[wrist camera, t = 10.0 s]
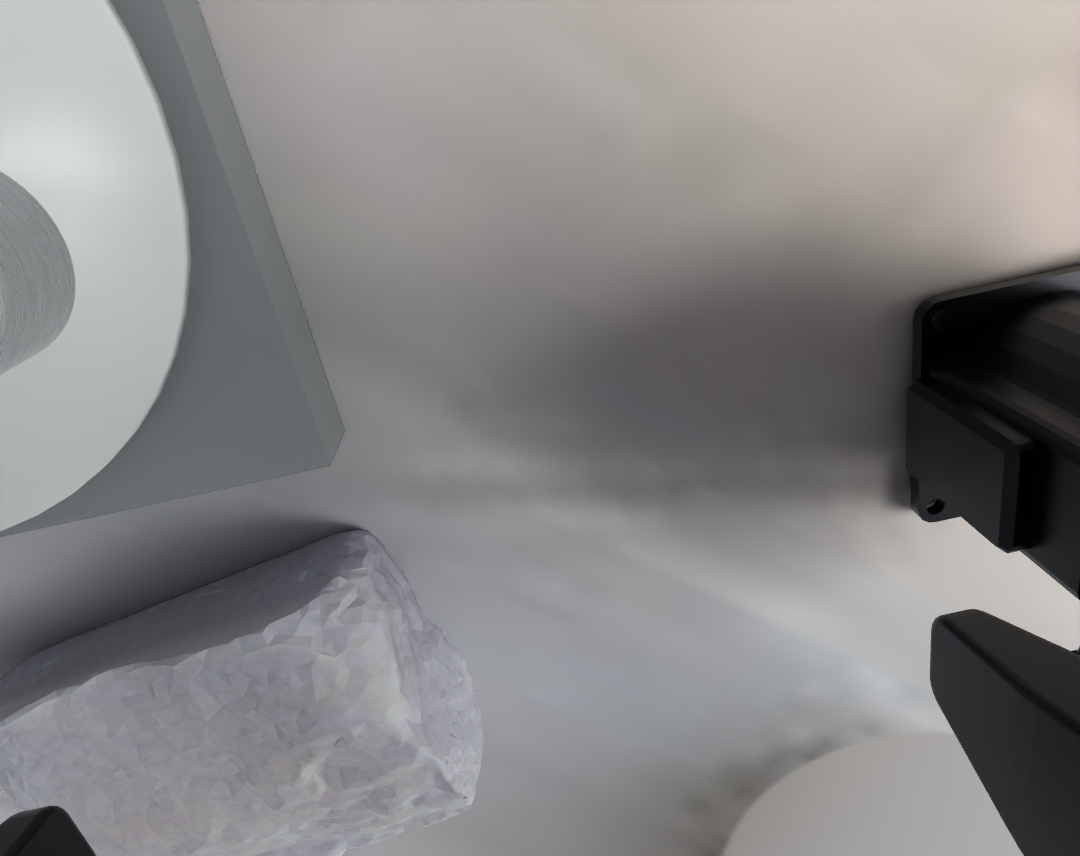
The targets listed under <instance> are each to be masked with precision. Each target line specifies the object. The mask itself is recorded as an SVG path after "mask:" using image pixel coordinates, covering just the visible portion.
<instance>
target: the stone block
mask: <svg viewBox="0 0 1080 856" xmlns="http://www.w3.org/2000/svg"><path fill="white" fill-rule="evenodd" d="M472 682H473V679H472V675H471V673H470V671H469V669H468V666H467V662H466V660H465V659H464V658H463V657H462V656H461V655H460V654H459V653H458V652H457V650H456V649H455V648H454V647H453V646H452V645H451V644H450V643H449V642H448V640H447V639H446V638H445V637H444V635H443V631H442V630H441V629H440V628H438V627H437V626H435V625H434V624H433V623H431V622H430V621H429V620H427V619H426V617H425V615H424V613H423V611H422V609H421V608H420V606H419V605H418V603H417V600H416V597H415V593H414V592H413V591H412V590H411V586H410V584H409V582H408V581H407V579H406V578H405V577H404V575H403V574H402V572H401V571H400V569H399V568H398V567H397V565H396V564H395V563H394V561H393V560H392V559H391V558H390V556H389V555H388V554H387V552H386V550H385V548H384V546H383V545H382V544H381V543H380V542H379V541H378V540H377V539H376V538H375V537H374V536H373V535H372V534H371V533H370V532H368V531H366V530H359V529H357V530H353V531H347V532H342V533H338V534H334V535H331V536H328V537H326V538H323V539H321V540H318V541H316V542H313V543H311V544H308V545H306V546H303V547H301V548H298V549H295V550H293V551H290V552H288V553H285V554H283V555H280V556H278V557H275V558H273V559H271V560H268V561H266V562H264V563H261V564H258V565H256V566H253V567H251V568H248V569H246V570H243V571H241V572H238V573H235V574H232V575H230V576H228V577H226V578H223V579H221V580H218V581H216V582H213V583H211V584H208V585H205V586H203V587H200V588H198V589H195V590H193V591H190V592H188V593H186V594H183V595H181V596H178V597H176V598H172V599H169V600H166V601H164V602H161V603H159V604H156V605H154V606H152V607H149V608H147V609H145V610H142V611H140V612H138V613H135V614H133V615H131V616H129V617H127V618H125V619H121V620H116V621H113V622H110V623H108V624H106V625H103V626H101V627H98V628H96V629H93V630H91V631H88V632H86V633H83V634H81V635H78V636H75V637H71V638H68V639H67V640H65V641H63V642H61V643H59V644H56V645H53V646H50V647H48V648H45V649H43V650H41V651H39V652H37V653H35V654H33V655H32V656H30V657H29V658H28V659H26V660H25V661H23V662H22V663H21V664H19V665H18V666H16V667H15V668H14V669H12V670H11V671H9V672H8V673H7V674H5V675H4V676H3V678H2V679H1V681H0V784H1V785H2V787H3V788H4V789H5V791H6V792H7V793H8V794H9V795H10V796H11V797H12V798H13V799H15V800H16V801H17V802H18V803H19V804H20V805H22V806H23V808H24V809H25V810H26V811H28V810H32V809H37V808H42V807H46V806H59V807H61V808H63V809H64V810H65V811H66V812H67V813H68V814H69V816H70V817H71V818H72V820H73V821H74V823H75V824H76V826H77V827H78V829H79V830H80V832H81V833H82V834H83V836H84V837H85V839H86V840H87V842H88V843H89V845H90V846H91V848H92V849H93V851H94V852H95V854H96V856H341V855H342V854H343V853H344V852H345V851H346V850H348V849H356V848H359V847H362V846H367V845H374V844H376V843H379V842H381V841H383V840H385V839H388V838H390V837H393V836H395V835H398V834H400V833H401V832H402V831H404V830H406V829H418V828H423V827H426V826H429V825H432V824H435V823H438V822H441V821H443V820H446V819H448V818H451V817H453V816H455V815H457V814H459V813H463V812H465V811H466V810H467V809H468V808H471V803H472V801H473V799H474V795H475V790H476V782H477V779H478V776H479V773H480V769H481V765H480V763H481V757H482V753H483V728H482V723H481V721H482V714H481V710H480V704H479V702H478V700H477V698H476V695H475V691H474V688H473V683H472Z"/></svg>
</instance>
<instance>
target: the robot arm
mask: <svg viewBox="0 0 1080 856" xmlns="http://www.w3.org/2000/svg"><path fill="white" fill-rule="evenodd" d="M941 310H942V313H943V314H942V317H941V319H940V321H939V322H938V323H936V324H934V325H932V323H931V322H932V318H933V316H934V315H935V314H936V313H937V312H939V311H941ZM906 468H907V470H908V472H910V473H911V507H912V510H913V511H914V512H915V513H916V514H917V515H918V516H919V517H920V518H921V519H922V520H924V521H927V522H937V521H942V520H947V519H951V518H956V517H962V518H963V519H964V520H966V521H967V522H968V523H969V524H970V525H971V526H973V527H974V528H975V529H976V530H977V531H978V532H980V533H981V534H982V535H983V536H984V537H985V538H987V539H988V540H989V541H990V542H991V543H992V544H994V545H995V546H996V547H998V548H999V549H1001V550H1002V551H1004V552H1006V553H1011V552H1016V551H1021V552H1022V553H1023V554H1024V555H1026V556H1027V557H1028V558H1029V559H1031V560H1032V561H1033V562H1034V563H1035V564H1037V565H1038V566H1039V567H1040V568H1041V569H1043V570H1044V571H1045V572H1046V573H1047V574H1049V575H1050V576H1051V577H1052V578H1054V579H1055V580H1056V581H1057V582H1058V583H1060V584H1061V585H1062V586H1063V587H1064V588H1066V589H1067V590H1068V591H1069V592H1070V593H1072V594H1073V595H1074V596H1075V597H1076V598H1078V599H1079V600H1080V265H1077V266H1073V267H1068V268H1063V269H1059V270H1054V271H1050V272H1045V273H1040V274H1036V275H1031V276H1026V277H1022V278H1017V279H1013V280H1008V281H1003V282H999V283H994V284H989V285H985V286H980V287H976V288H971V289H966V290H962V291H957V292H952V293H948V294H943V295H939V296H934V297H931V298H929V299H926V300H925V301H924V302H922V303H921V304H920V305H919V306H918V308H917V310H916V311H915V314H914V318H913V369H912V382H911V384H910V386H909V387H908V389H907V429H906ZM935 499H936V502H935V503H934V504H933V505H932V506H930V507H928V508H927V506H928V504H929V503H930V502H931V501H933V500H935ZM930 681H931V687H932V690H933V693H934V696H935V698H936V700H937V702H938V704H939V706H940V708H941V710H942V712H943V713H944V715H945V717H946V719H947V721H948V722H949V724H950V726H951V728H952V730H953V731H954V733H955V735H956V737H957V739H958V740H959V742H960V743H961V745H962V748H963V749H964V751H965V753H966V755H967V756H968V758H969V760H970V762H971V763H972V765H973V767H974V769H975V771H976V772H977V775H978V776H979V778H980V780H981V782H982V783H983V785H984V787H985V789H986V791H987V792H988V794H989V796H990V798H991V800H992V801H993V803H994V805H995V807H996V809H997V810H998V812H999V814H1000V816H1001V818H1002V819H1003V821H1004V823H1005V825H1006V827H1007V828H1008V830H1009V831H1010V833H1011V835H1012V837H1013V838H1014V840H1015V842H1016V844H1017V845H1018V847H1019V849H1020V850H1021V852H1022V853H1023V855H1024V856H1080V647H1079V649H1078V650H1074V651H1072V652H1071V651H1069V650H1067V649H1065V648H1063V647H1060V646H1058V645H1056V644H1054V643H1052V642H1049V641H1047V640H1045V639H1043V638H1041V637H1038V636H1036V635H1034V634H1032V633H1030V632H1028V631H1025V630H1023V629H1021V628H1019V627H1017V626H1014V625H1012V624H1010V623H1008V622H1006V621H1003V620H1001V619H999V618H997V617H995V616H992V615H990V614H988V613H986V612H983V611H980V610H976V609H969V610H964V611H960V612H955V613H950V614H945V615H941V616H939V617H937V618H936V619H935V620H934V622H933V624H932V629H931V656H930ZM0 856H96V854H95V852H94V851H93V849H92V848H91V846H90V845H89V843H88V842H87V840H86V839H85V837H84V836H83V834H82V833H81V832H80V830H79V829H78V827H77V826H76V824H75V823H74V821H73V820H72V818H71V817H70V816H69V814H68V813H67V812H66V811H65V810H64V809H63V808H61V807H59V806H46V807H42V808H37V809H32V810H28V811H23V812H20V813H17V814H15V815H13V816H11V817H9V818H8V819H7V820H6V821H4V822H3V823H2V824H1V825H0Z"/></svg>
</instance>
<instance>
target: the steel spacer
mask: <svg viewBox="0 0 1080 856" xmlns="http://www.w3.org/2000/svg"><path fill="white" fill-rule="evenodd" d="M74 299H75V275H74V268H73V264H72V260H71V256H70V253H69V250H68V248H67V245H66V243H65V240H64V238H63V237H62V235H61V233H60V231H59V229H58V227H57V226H56V224H55V223H54V221H53V220H52V218H51V217H50V215H49V214H48V213H47V211H46V210H45V209H44V208H43V207H42V206H41V204H40V203H39V202H38V201H37V200H36V199H35V198H34V197H33V196H32V195H31V194H30V193H29V192H28V191H27V190H26V189H25V188H23V187H22V186H21V185H19V184H18V183H17V182H16V181H14V180H13V179H12V178H10V177H9V176H7V175H6V174H4V173H2V172H1V171H0V375H1V374H3V373H5V372H7V371H8V370H10V369H12V368H14V367H15V366H17V365H19V364H20V363H22V362H24V361H26V360H27V359H29V358H31V357H32V356H34V355H36V354H38V353H39V352H41V351H42V350H44V349H45V348H47V347H48V346H49V345H50V344H51V343H52V342H53V341H55V340H56V338H57V337H58V336H59V335H60V333H61V332H62V331H63V329H64V328H65V326H66V324H67V322H68V320H69V318H70V315H71V312H72V309H73V305H74Z"/></svg>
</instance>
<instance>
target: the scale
mask: <svg viewBox="0 0 1080 856" xmlns="http://www.w3.org/2000/svg"><path fill="white" fill-rule="evenodd" d="M0 171H1V172H2V173H4V174H6V175H7V176H9V177H10V178H12V179H13V180H14V181H16V182H17V183H18V184H19V185H21V186H22V187H23V188H25V189H26V190H27V191H28V192H29V193H30V194H31V195H32V196H33V197H34V198H35V199H36V200H37V201H38V202H39V203H40V204H41V206H42V207H43V208H44V209H45V210H46V211H47V213H48V214H49V215H50V217H51V218H52V220H53V221H54V223H55V224H56V226H57V227H58V229H59V231H60V233H61V235H62V237H63V238H64V240H65V243H66V245H67V248H68V250H69V253H70V256H71V260H72V264H73V268H74V275H75V299H74V305H73V309H72V312H71V315H70V318H69V320H68V322H67V324H66V326H65V328H64V329H63V331H62V332H61V333H60V335H59V336H58V337H57V338H56V340H55V341H53V342H52V343H51V344H50V345H49V346H48V347H47V348H45V349H44V350H42V351H41V352H39V353H38V354H36V355H34V356H32V357H31V358H29V359H27V360H26V361H24V362H22V363H20V364H19V365H17V366H15V367H14V368H12V369H10V370H8V371H7V372H5V373H3V374H1V375H0V537H3V536H7V535H12V534H17V533H21V532H26V531H30V530H35V529H40V528H44V527H49V526H54V525H58V524H63V523H68V522H72V521H77V520H81V519H86V518H91V517H95V516H100V515H105V514H109V513H114V512H118V511H123V510H128V509H132V508H137V507H142V506H146V505H151V504H156V503H160V502H165V501H169V500H174V499H179V498H183V497H188V496H193V495H197V494H202V493H206V492H211V491H216V490H220V489H225V488H230V487H234V486H239V485H244V484H248V483H253V482H257V481H262V480H267V479H271V478H276V477H281V476H285V475H290V474H294V473H299V472H304V471H308V470H313V469H318V468H322V467H327V466H331V464H332V461H333V458H334V456H335V453H336V451H337V448H338V446H339V443H340V441H341V438H342V436H343V433H344V431H345V430H344V427H343V424H342V421H341V418H340V416H339V413H338V410H337V407H336V404H335V401H334V398H333V395H332V392H331V389H330V386H329V383H328V381H327V378H326V375H325V372H324V369H323V366H322V363H321V360H320V357H319V354H318V351H317V349H316V346H315V343H314V340H313V337H312V334H311V331H310V328H309V325H308V322H307V319H306V317H305V314H304V311H303V308H302V305H301V302H300V299H299V296H298V293H297V290H296V287H295V285H294V282H293V279H292V276H291V273H290V270H289V267H288V264H287V261H286V258H285V255H284V252H283V250H282V247H281V244H280V241H279V238H278V235H277V232H276V229H275V226H274V223H273V220H272V218H271V215H270V212H269V209H268V206H267V203H266V200H265V197H264V194H263V191H262V188H261V186H260V183H259V180H258V177H257V174H256V171H255V168H254V165H253V162H252V159H251V156H250V154H249V151H248V148H247V145H246V142H245V139H244V136H243V133H242V130H241V127H240V124H239V121H238V119H237V116H236V113H235V110H234V107H233V104H232V101H231V98H230V95H229V92H228V89H227V87H226V84H225V81H224V78H223V75H222V72H221V69H220V66H219V63H218V60H217V57H216V55H215V52H214V49H213V46H212V43H211V40H210V37H209V34H208V31H207V28H206V25H205V23H204V20H203V17H202V14H201V11H200V8H199V5H198V2H197V0H0Z"/></svg>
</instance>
